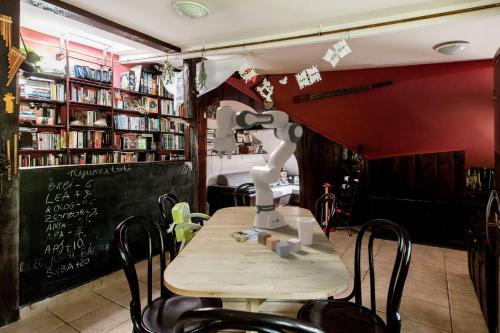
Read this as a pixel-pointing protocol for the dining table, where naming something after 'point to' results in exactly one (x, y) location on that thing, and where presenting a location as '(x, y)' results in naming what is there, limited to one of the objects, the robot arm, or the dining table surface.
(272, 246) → the terracotta cube
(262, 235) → the walnut cube
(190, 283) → the dining table surface
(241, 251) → the dining table surface
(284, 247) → the slate blue cube
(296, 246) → the pale grey cube
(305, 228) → the foam cup
